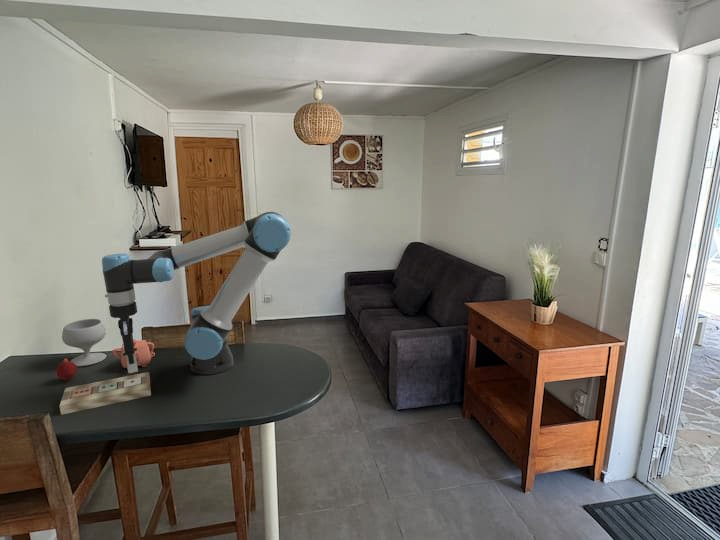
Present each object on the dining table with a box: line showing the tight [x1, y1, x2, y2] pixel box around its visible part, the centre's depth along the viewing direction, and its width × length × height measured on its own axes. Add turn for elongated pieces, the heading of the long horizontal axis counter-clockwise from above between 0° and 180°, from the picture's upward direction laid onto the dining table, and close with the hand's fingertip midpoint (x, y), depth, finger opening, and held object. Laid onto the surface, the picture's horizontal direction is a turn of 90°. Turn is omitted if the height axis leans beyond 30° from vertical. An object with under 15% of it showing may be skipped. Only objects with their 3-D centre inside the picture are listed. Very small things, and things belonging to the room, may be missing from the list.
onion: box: [56, 357, 78, 381], centre depth 142 cm, size 6×6×8 cm
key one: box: [124, 377, 142, 388], centre depth 135 cm, size 5×5×3 cm
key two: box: [98, 382, 118, 393], centre depth 132 cm, size 5×5×3 cm
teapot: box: [111, 339, 156, 371], centre depth 154 cm, size 12×12×10 cm
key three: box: [71, 387, 93, 399], centre depth 129 cm, size 5×5×3 cm
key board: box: [59, 371, 152, 416], centre depth 132 cm, size 24×12×3 cm, turn 118°
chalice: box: [61, 318, 107, 367], centre depth 157 cm, size 14×14×15 cm
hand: (133, 371), depth 135 cm, fingers closed
